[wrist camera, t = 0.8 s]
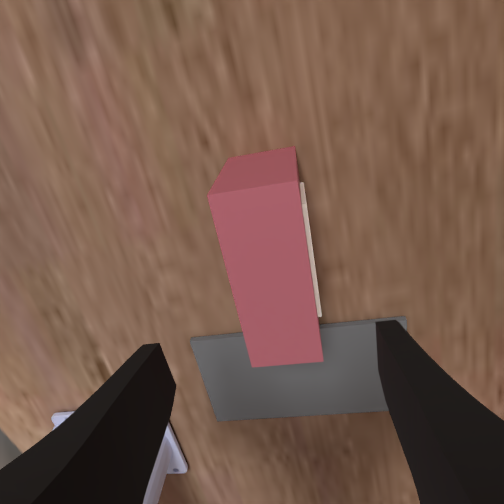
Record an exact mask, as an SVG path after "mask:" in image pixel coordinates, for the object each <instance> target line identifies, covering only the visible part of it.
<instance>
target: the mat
mask: <svg viewBox="0 0 504 504" xmlns="http://www.w3.org/2000/svg"><path fill="white" fill-rule="evenodd" d="M388 320H397V321H398V322H399V323H400V324H401V325H402V326H403V328H404V329H405V330H406V331H407V320H406V317H405V316H401V317H391V318H381V319H371V320H361V321H351V322H341V323H331V324H321V325H319V326H320V335H321V343H322V352H323V360H324V362H313V363H300V364H288V365H276V366H264V367H252V366H251V362H250V358H249V354H248V350H247V347H246V343H245V339H244V335H243V332H242V333H232V334H222V335H212V336H202V337H192V338H191V340H190V344H191V346H192V349H193V352H194V355H195V358H196V361H197V364H198V367H199V369H200V372H201V375H202V378H203V381H204V384H205V387H206V390H207V393H208V395H209V398H210V401H211V404H212V407H213V410H214V413H215V416H216V419H217V421H232V420H248V419H265V418H281V417H297V416H313V415H330V414H346V413H362V412H378V411H389V409H388V407H387V404H386V401H385V397H384V393H383V389H382V385H381V380H380V376H379V372H378V360H377V342H376V324H375V322H378V321H388Z"/></svg>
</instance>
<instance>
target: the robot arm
mask: <svg viewBox="0 0 504 504" xmlns="http://www.w3.org/2000/svg"><path fill="white" fill-rule="evenodd" d="M375 324H376V342H377V360H378V372H379V376H380V380H381V385H382V389H383V393H384V397H385V401H386V404H387V407H388V409H389V412H390V415H391V418H392V421H393V423H394V426H395V429H396V432H397V434H398V437H399V440H400V443H401V446H402V448H403V451H404V454H405V457H406V459H407V462H408V465H409V468H410V470H411V473H412V476H413V480H414V483H415V486H416V489H417V493H418V497H419V500H420V504H504V421H503V420H502V419H501V418H499V417H498V416H497V415H495V414H494V413H493V412H492V411H490V410H489V409H488V408H486V407H485V406H484V405H483V404H481V403H480V402H479V401H478V400H476V399H475V398H474V397H473V396H472V395H471V394H469V393H468V392H467V391H466V390H465V389H464V388H462V387H461V386H460V385H459V384H458V383H457V382H456V381H455V380H453V379H452V378H451V377H450V376H449V375H448V374H447V373H446V372H445V371H444V370H443V369H442V368H441V367H440V366H439V365H438V364H437V363H436V362H435V361H434V360H433V359H432V358H431V357H430V356H429V355H428V354H427V353H426V352H425V351H424V350H423V349H422V348H421V347H420V346H419V345H418V344H417V342H416V341H415V340H414V339H413V338H412V337H411V336H410V335H409V333H408V332H407V331H406V330H405V329H404V328H403V326H402V325H401V324H400V323H399V322H398V321H397V320H388V321H378V322H375ZM175 390H176V384H175V381H174V379H173V376H172V374H171V371H170V369H169V366H168V364H167V361H166V359H165V356H164V353H163V351H162V348H161V346H160V343H155V344H145V345H142V346H141V347H140V348H139V349H138V350H137V351H136V352H135V353H134V354H133V355H132V356H131V357H130V358H129V359H128V360H127V361H126V362H125V363H124V364H123V365H122V366H121V367H120V368H119V369H118V370H117V371H116V372H115V373H114V374H113V375H112V376H111V377H110V378H109V379H108V380H107V381H106V382H105V383H104V384H103V385H102V386H101V387H100V388H99V389H98V390H97V391H96V392H95V393H94V394H93V395H92V396H91V397H90V398H89V399H88V400H86V401H85V402H84V403H83V404H82V405H81V406H80V407H79V408H78V409H77V410H76V411H72V412H58V413H54V414H53V416H52V418H51V419H52V422H53V423H54V425H55V427H54V428H53V430H52V431H51V432H50V433H49V434H48V435H47V436H45V437H44V438H43V439H42V440H40V441H39V442H38V443H36V444H35V445H34V446H32V447H31V448H30V449H28V450H27V451H26V452H24V453H23V454H21V455H20V456H19V457H17V458H16V459H15V460H13V461H12V462H11V463H9V464H8V465H6V466H5V467H3V468H2V469H1V470H0V504H158V502H159V498H160V495H161V491H162V488H163V484H164V481H165V477H166V474H178V473H185V472H187V469H188V465H187V463H186V461H185V458H184V456H183V454H182V451H181V449H180V447H179V444H178V442H177V440H176V437H175V435H174V433H173V431H172V428H171V426H170V424H169V419H170V416H171V411H172V407H173V402H174V396H175Z"/></svg>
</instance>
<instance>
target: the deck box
mask: <svg viewBox="0 0 504 504" xmlns="http://www.w3.org/2000/svg"><path fill="white" fill-rule="evenodd" d="M207 197H208V201H209V205H210V209H211V212H212V216H213V220H214V224H215V228H216V232H217V235H218V239H219V243H220V247H221V251H222V255H223V258H224V262H225V266H226V270H227V274H228V278H229V281H230V285H231V289H232V293H233V297H234V301H235V304H236V308H237V312H238V316H239V320H240V324H241V327H242V331H243V335H244V339H245V343H246V347H247V350H248V354H249V358H250V362H251V366H252V367H264V366H276V365H288V364H300V363H313V362H324V360H323V352H322V343H321V335H320V326H319V318H318V317H322V314H321V306H320V298H319V291H318V283H317V276H316V269H315V261H314V254H313V247H312V239H311V232H310V224H309V217H308V210H307V202H306V195H305V188H304V182H301V183H300V179H299V172H298V165H297V158H296V150H295V146H293V147H287V148H282V149H276V150H271V151H265V152H259V153H254V154H248V155H243V156H237V157H232V158H228V160H227V161H226V163H225V165H224V167H223V168H222V170H221V172H220V174H219V175H218V177H217V179H216V181H215V182H214V184H213V186H212V187H211V189H210V191H209V193H208V194H207Z"/></svg>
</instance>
